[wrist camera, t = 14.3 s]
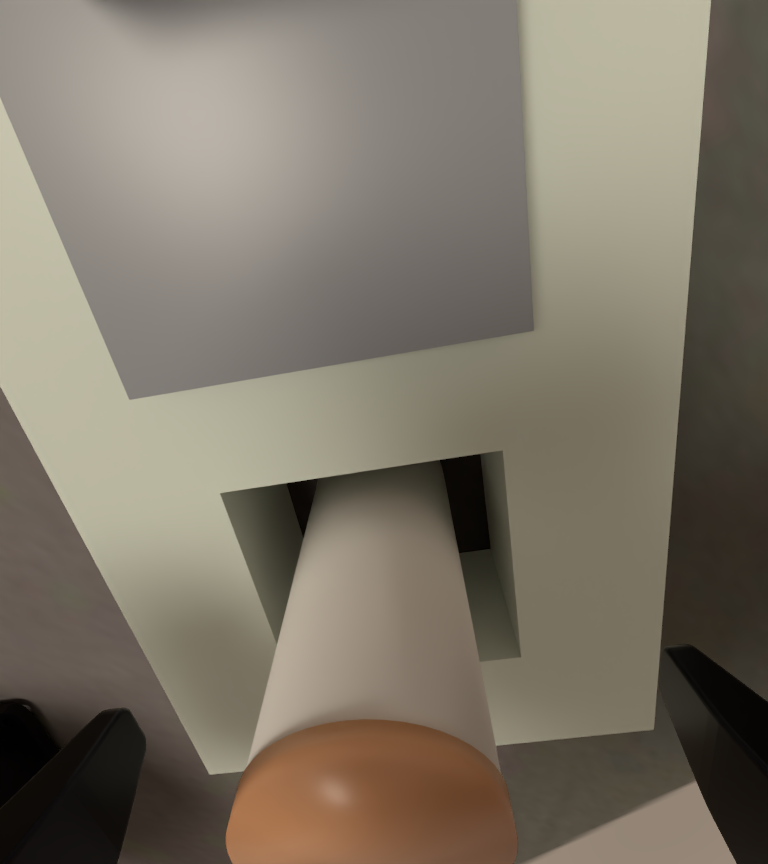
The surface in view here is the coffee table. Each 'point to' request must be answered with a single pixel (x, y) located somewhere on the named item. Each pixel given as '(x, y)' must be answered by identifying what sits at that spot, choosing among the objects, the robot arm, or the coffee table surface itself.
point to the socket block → (416, 414)
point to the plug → (375, 694)
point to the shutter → (277, 176)
